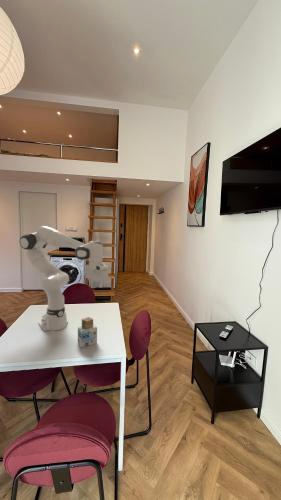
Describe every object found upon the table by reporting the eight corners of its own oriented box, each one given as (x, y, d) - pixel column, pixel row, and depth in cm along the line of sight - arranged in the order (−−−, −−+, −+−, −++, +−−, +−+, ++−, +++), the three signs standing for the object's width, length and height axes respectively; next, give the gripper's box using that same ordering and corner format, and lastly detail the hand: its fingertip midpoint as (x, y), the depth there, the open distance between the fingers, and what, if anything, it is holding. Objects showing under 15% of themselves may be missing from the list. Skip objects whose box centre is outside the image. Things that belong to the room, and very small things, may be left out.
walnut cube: (81, 326, 137) (81, 319, 137) (88, 324, 141) (88, 316, 141) (86, 329, 134) (86, 321, 134) (93, 326, 138) (93, 319, 137)
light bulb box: (81, 348, 133) (81, 331, 132) (77, 343, 138) (77, 326, 137) (97, 343, 139) (97, 326, 138) (93, 338, 144) (93, 323, 143)
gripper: (82, 264, 148) (82, 284, 150) (102, 268, 136) (102, 289, 137) (89, 263, 153) (89, 282, 155) (110, 266, 141) (109, 288, 142)
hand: (95, 286), depth 146 cm, fingers open, 8 cm apart
